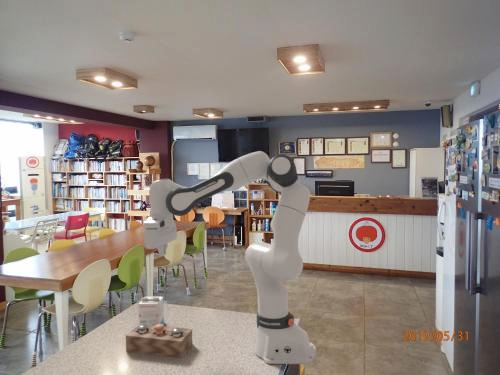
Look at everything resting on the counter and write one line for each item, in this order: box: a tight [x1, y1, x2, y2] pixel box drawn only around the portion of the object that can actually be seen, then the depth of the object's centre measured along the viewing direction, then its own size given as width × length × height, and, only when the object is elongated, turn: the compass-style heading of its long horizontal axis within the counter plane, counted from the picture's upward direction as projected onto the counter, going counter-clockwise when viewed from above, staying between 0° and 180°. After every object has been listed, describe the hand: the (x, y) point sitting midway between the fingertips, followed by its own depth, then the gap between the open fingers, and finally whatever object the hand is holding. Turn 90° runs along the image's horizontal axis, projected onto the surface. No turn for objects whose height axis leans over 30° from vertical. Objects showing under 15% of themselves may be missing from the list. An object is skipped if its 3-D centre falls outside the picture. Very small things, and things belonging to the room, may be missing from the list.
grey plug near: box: [172, 326, 182, 337], centre depth 134 cm, size 4×4×6 cm
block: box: [125, 323, 193, 359], centre depth 136 cm, size 22×10×6 cm, turn 76°
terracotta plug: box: [154, 324, 165, 335], centre depth 136 cm, size 4×4×6 cm
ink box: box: [137, 296, 165, 325], centre depth 154 cm, size 9×8×13 cm
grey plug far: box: [137, 324, 147, 333], centre depth 138 cm, size 4×4×6 cm
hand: (162, 255), depth 143 cm, fingers closed
